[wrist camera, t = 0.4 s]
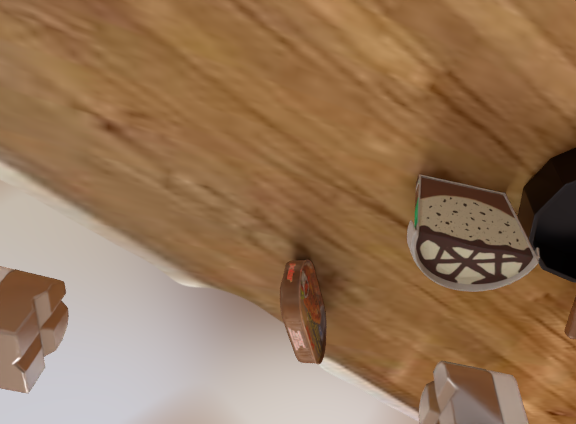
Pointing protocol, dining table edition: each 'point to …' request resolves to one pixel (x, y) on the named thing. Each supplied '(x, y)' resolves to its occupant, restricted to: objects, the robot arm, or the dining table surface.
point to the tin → (303, 311)
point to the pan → (553, 220)
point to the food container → (467, 236)
